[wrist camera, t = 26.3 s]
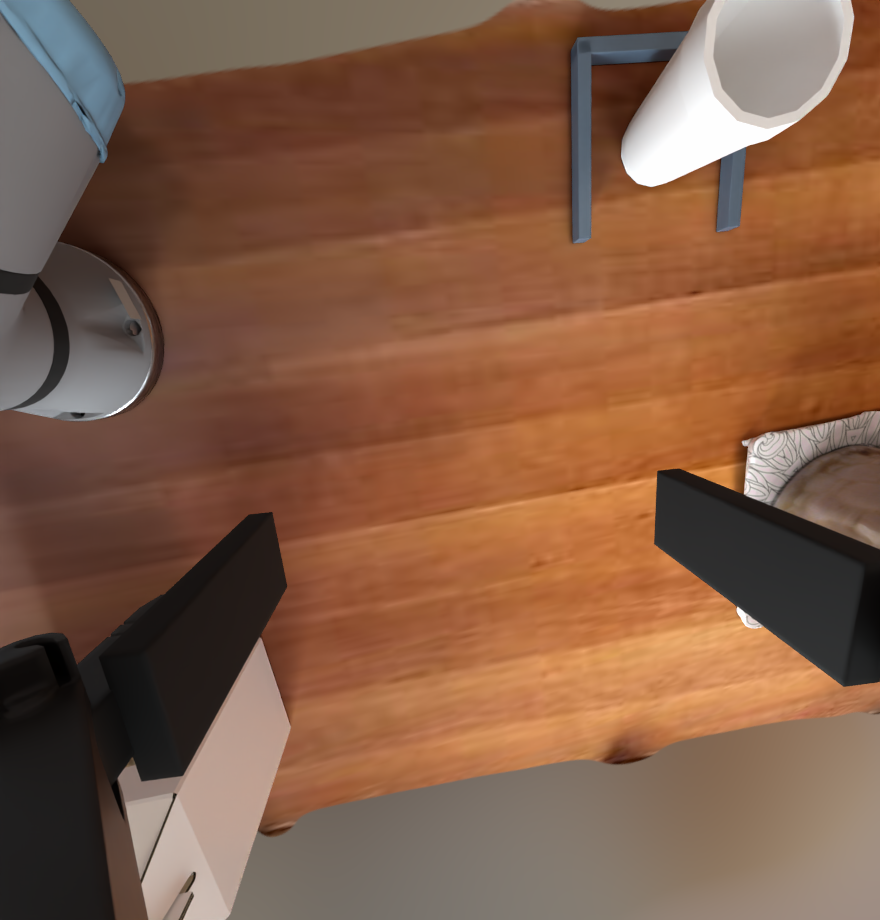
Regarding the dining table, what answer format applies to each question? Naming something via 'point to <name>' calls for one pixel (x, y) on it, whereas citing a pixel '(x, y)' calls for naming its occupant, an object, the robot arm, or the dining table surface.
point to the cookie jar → (820, 476)
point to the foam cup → (736, 83)
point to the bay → (582, 58)
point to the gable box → (209, 803)
